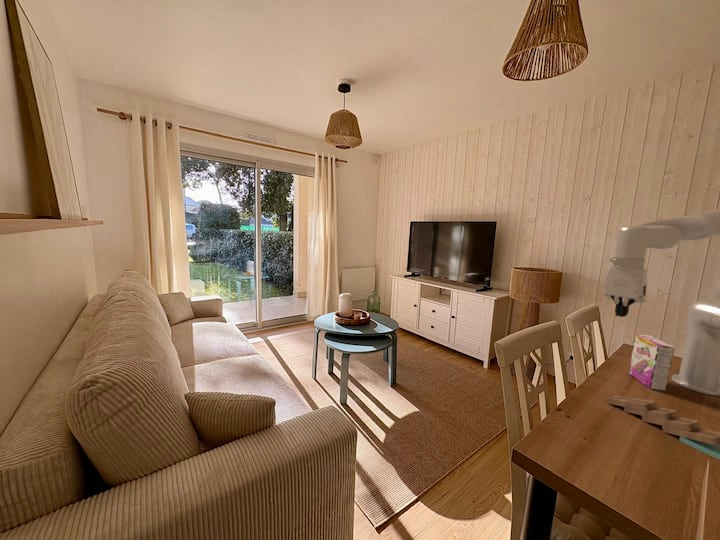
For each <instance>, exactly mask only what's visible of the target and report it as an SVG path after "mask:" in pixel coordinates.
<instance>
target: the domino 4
mask: <svg viewBox="0 0 720 540" xmlns="http://www.w3.org/2000/svg"><path fill="white" fill-rule="evenodd" d="M661 428H662V432H663V433H666V434H671V435H675V436H678V437H680V436H681V437H685V438H689V439H693V440H697V441H701V442H705V443H708V444H712V445H716V446H718V445H719V446H720V432H718V431H713V430H709V429H706V428H705V429H704V428H702V427H700V428H698V429H696V430H694V431H692V432H691V431H686V430H681V429H677V428H672V427H667V426H663V425H661Z"/></svg>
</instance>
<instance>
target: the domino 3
mask: <svg viewBox="0 0 720 540" xmlns="http://www.w3.org/2000/svg"><path fill="white" fill-rule="evenodd" d="M640 416H641V419H642V422H645V423H650V424H655V425H660V426H662V425H663V426H667V427H672V428H677V429H681V430H686V431H691V432H692V431H694V430H696V429H698V428H702V427H701V422H700V420H697V419H693V418H692V419H691V418H686V417H681V416H678V417H676V418H673V419H671V420H669V421H668V420H663V419H658V418H653V417H648V416H643V415H640Z"/></svg>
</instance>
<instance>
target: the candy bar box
mask: <svg viewBox="0 0 720 540" xmlns="http://www.w3.org/2000/svg"><path fill="white" fill-rule="evenodd" d="M634 336H635V337H634V341H633V342H634V343H633V347H632V352H631V353H632V354H631V359H630V364H629V370H628V374H629V376H631V375H632V376H631V377H633V378H634V377H635V378H636V380H637V381H638V380H639V383H641V384H642V383H643V384H642V385H644V386H645V385H646V386H645V387H647V388H648V389H649V388H650V390H652V389H655V391H663V392H666V390H667V385H668V380H669V377H670V371H671V366H672V361H673V357H674V352H675V351H674V350H675V347H674V346H672V345H670V344H668V343H667V342H664V341H663V340H660V339H658V338H656V337H655V336H652V335H648V334H639V333H635V335H634ZM635 378H634V379H635Z"/></svg>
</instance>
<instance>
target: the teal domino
mask: <svg viewBox="0 0 720 540" xmlns="http://www.w3.org/2000/svg"><path fill="white" fill-rule="evenodd" d="M679 441H680V442H682V443H684V444H686V445H687V446H689V447H692V448H694V449H696V450H698V451H699V452H702V453H703V452H704V454H705V453H706V455H707V454H709V455H711V456H713V457H715V458H717V459H720V445H718V446H716V445H712V444H708V443H705V442H701V441H697V440H693V439H689V438H685V437H681V436H679ZM709 455H708V456H709ZM711 456H710V457H711ZM713 457H712V458H713ZM715 458H714V459H715ZM717 459H716V460H717Z"/></svg>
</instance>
